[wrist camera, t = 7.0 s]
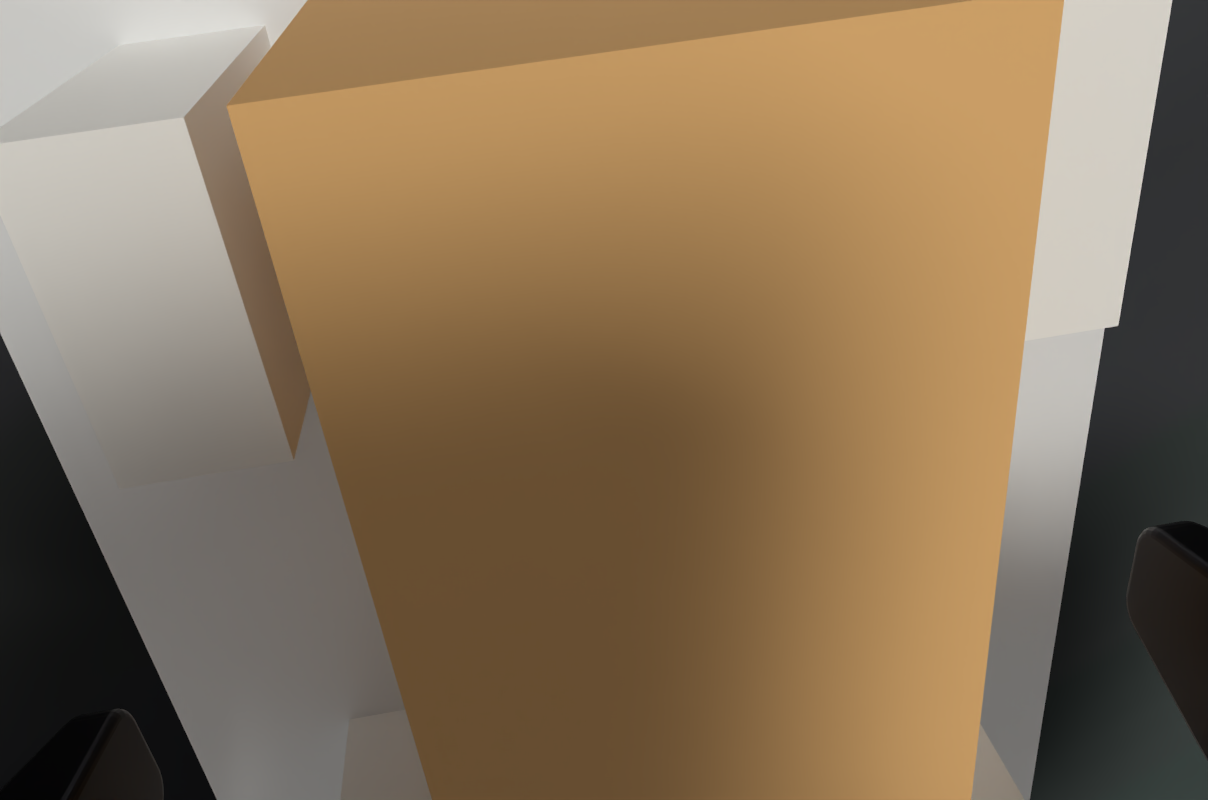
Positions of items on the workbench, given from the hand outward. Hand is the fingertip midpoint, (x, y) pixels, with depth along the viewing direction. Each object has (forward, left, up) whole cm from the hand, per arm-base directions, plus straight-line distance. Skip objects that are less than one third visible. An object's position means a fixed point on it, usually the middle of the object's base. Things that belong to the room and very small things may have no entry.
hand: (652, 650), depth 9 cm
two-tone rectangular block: (0, +2, -3) cm, 3 cm away
